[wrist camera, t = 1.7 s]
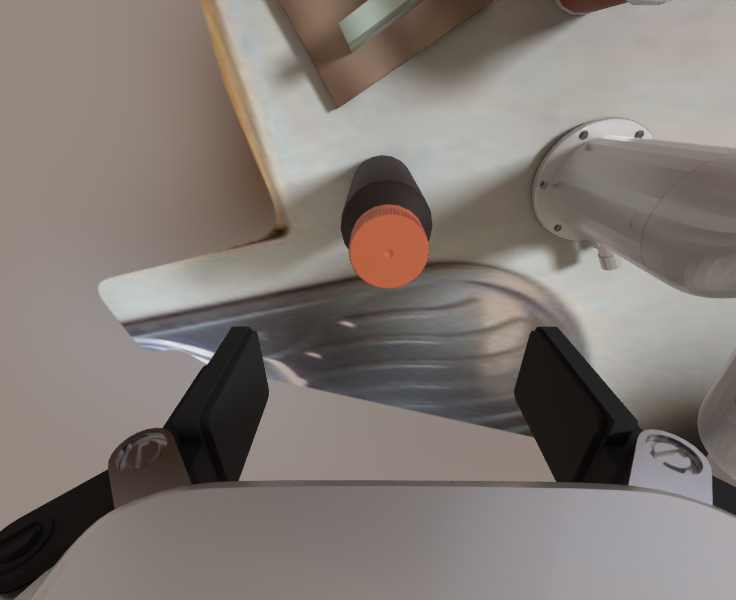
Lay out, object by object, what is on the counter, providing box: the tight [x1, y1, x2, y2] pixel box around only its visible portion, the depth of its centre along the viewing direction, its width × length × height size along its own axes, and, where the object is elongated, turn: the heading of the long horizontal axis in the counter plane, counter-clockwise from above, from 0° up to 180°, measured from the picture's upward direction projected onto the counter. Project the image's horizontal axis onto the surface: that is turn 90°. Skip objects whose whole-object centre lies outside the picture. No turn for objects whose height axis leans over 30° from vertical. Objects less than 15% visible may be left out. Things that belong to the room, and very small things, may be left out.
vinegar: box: [341, 155, 432, 289], centre depth 29 cm, size 7×7×20 cm
